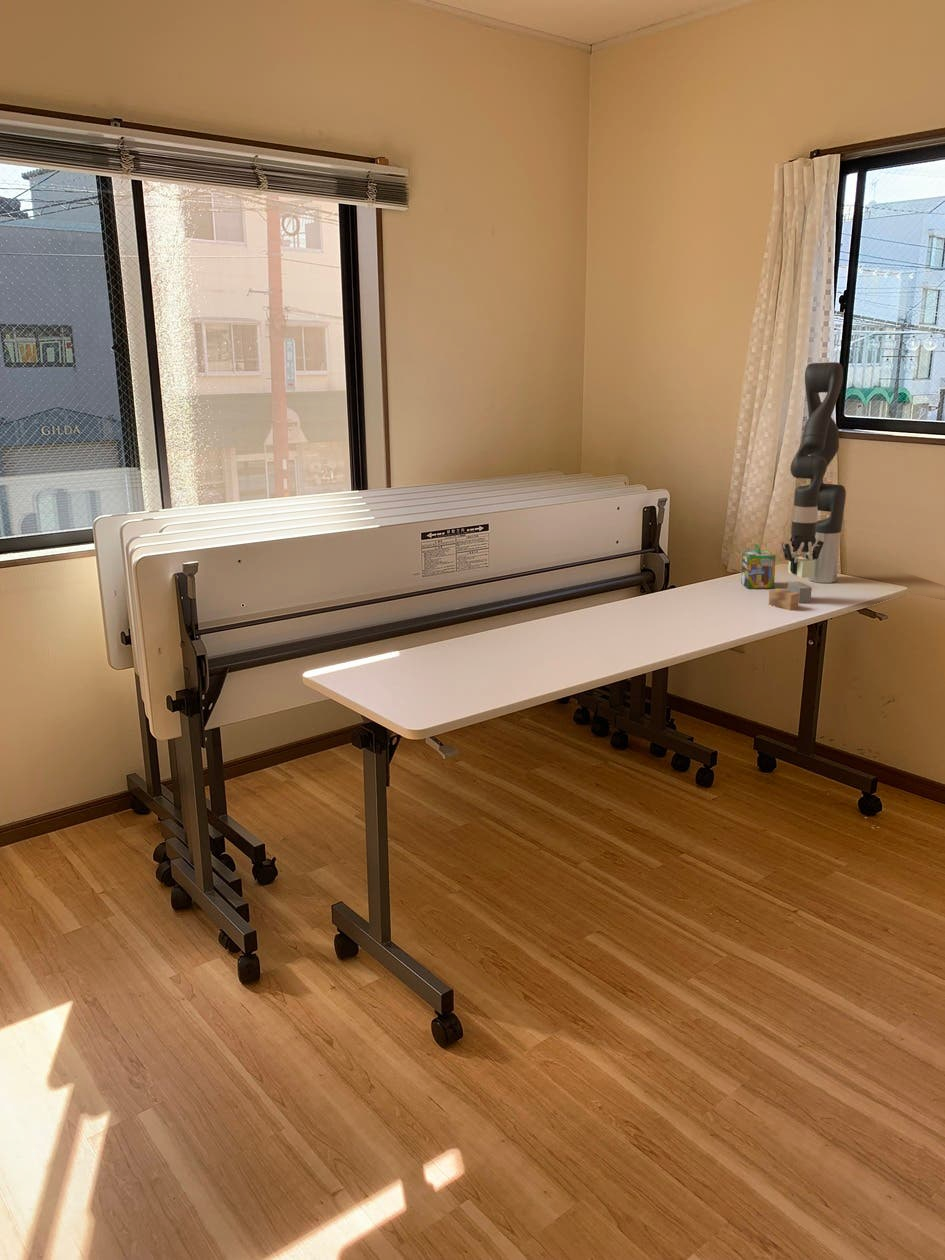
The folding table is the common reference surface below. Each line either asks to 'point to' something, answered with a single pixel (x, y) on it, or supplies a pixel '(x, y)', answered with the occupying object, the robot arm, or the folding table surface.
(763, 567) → the chalk box
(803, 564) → the sage brick
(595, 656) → the folding table surface
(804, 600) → the charcoal brick
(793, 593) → the walnut brick
